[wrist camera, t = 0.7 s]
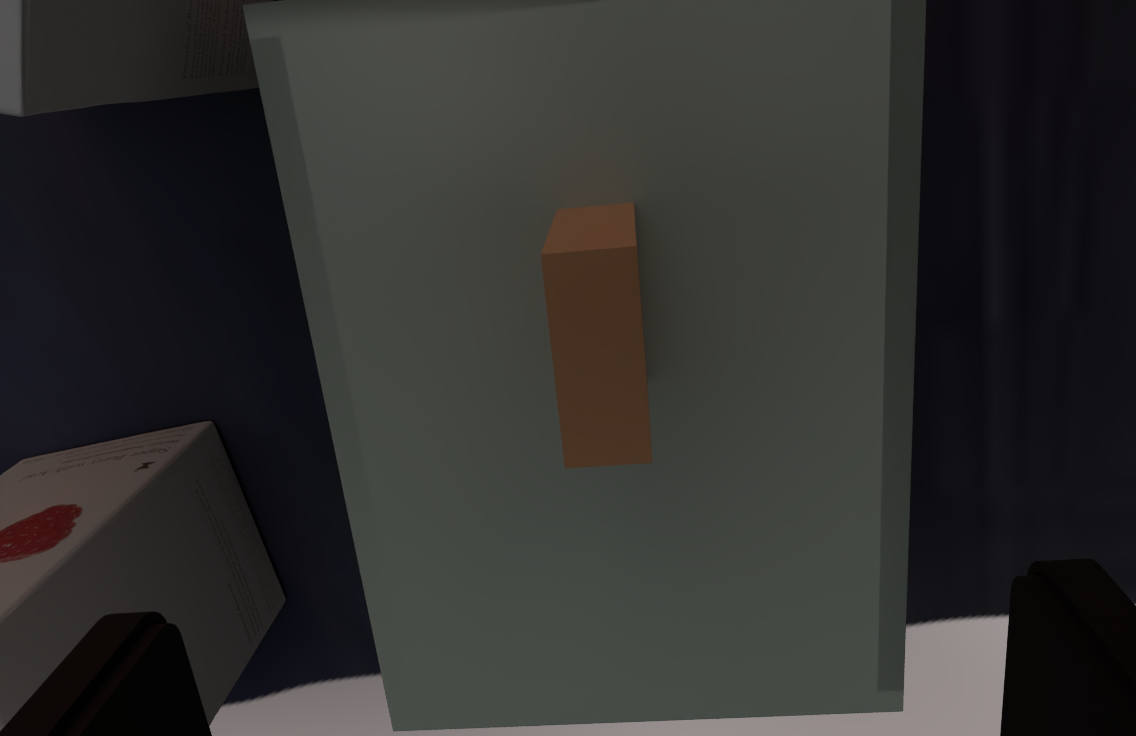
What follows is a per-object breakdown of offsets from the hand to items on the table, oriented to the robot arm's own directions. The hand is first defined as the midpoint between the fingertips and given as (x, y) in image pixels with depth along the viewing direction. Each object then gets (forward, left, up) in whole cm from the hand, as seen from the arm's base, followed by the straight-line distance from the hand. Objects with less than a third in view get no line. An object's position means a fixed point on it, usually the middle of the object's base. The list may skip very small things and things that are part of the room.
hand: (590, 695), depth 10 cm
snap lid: (+3, 0, -18) cm, 18 cm away
